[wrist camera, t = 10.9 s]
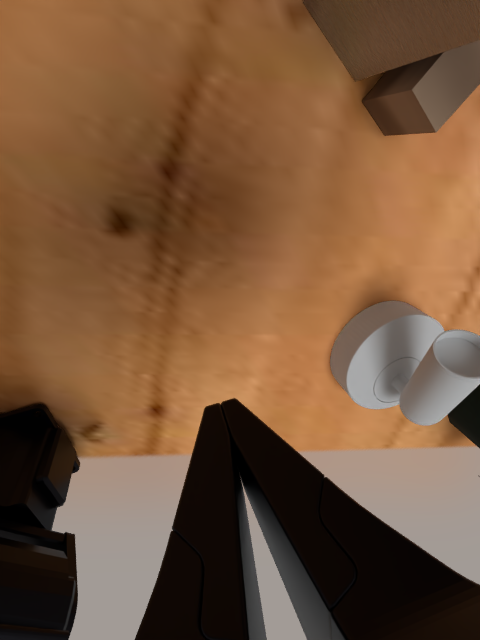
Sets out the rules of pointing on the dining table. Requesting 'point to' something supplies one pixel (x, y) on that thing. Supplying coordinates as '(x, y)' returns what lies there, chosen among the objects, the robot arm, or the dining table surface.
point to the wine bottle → (468, 416)
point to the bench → (424, 91)
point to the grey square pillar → (393, 30)
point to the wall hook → (405, 362)
